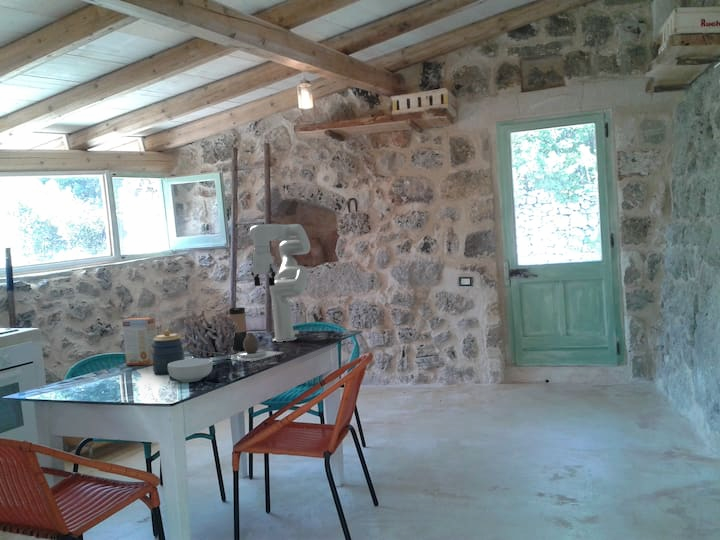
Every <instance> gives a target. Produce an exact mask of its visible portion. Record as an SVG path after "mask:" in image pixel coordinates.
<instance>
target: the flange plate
mask: <svg viewBox="0 0 720 540" xmlns="http://www.w3.org/2000/svg"><path fill="white" fill-rule="evenodd" d="M282 353H283V354H284V351H273V350H271V351H269V350H266V349H258V350H257V351H256V352H255V353H247V352H246V351H245V350H241V351H240V352H237V353H236V354H235V353H234V354H232V355H231V358H230V359H231V360H230V361H234V360H237V361H236V362H246V361H250V363H253V361H254V362H258V361H260V360H265V359H268V358H272V357H275V355H276V356H279V355H282ZM257 360H258V361H257Z"/></svg>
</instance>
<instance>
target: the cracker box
mask: <svg viewBox="0 0 720 540" xmlns="http://www.w3.org/2000/svg"><path fill="white" fill-rule="evenodd" d="M155 319H156V318H155V317H129V318H124V319H122V327H123V328H122V330H123V331H122V332H123V343H124V354H125V365H126V366H146V367H147V366H149V367H150V366H153V355H152V353H153V347H152V346H151V345H152V344H153V343H154V341H153V339H154V338H156V336H157V331H156V322H155V321H156V320H155Z"/></svg>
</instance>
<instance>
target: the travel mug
mask: <svg viewBox="0 0 720 540" xmlns="http://www.w3.org/2000/svg"><path fill="white" fill-rule="evenodd" d="M228 312H229V313H228V314H229V319H230V318H231V319H232V320H233V321H234V322H235V323H237V330H236V332H235V337H234V345H233V349H232V351H243V350H242V349H244V347H243V342H244V339H245V338H246V336H247V334H248V333H247V321H246V312H245V307H230V308H229V309H228Z"/></svg>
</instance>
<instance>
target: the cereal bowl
mask: <svg viewBox="0 0 720 540" xmlns="http://www.w3.org/2000/svg"><path fill="white" fill-rule="evenodd" d="M213 367H214V366H213V360H212V359H210V358H187V359H185V360H179V361H174V362H171V363H169V364H168V372H169V374H168V375H169V376H170V377H172V378H173V379H175V380H178V381H179V382H180V383H196V382H198V381H202V379H203V378H205V377H208V375H210V374H211V372H212V370H213Z"/></svg>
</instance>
